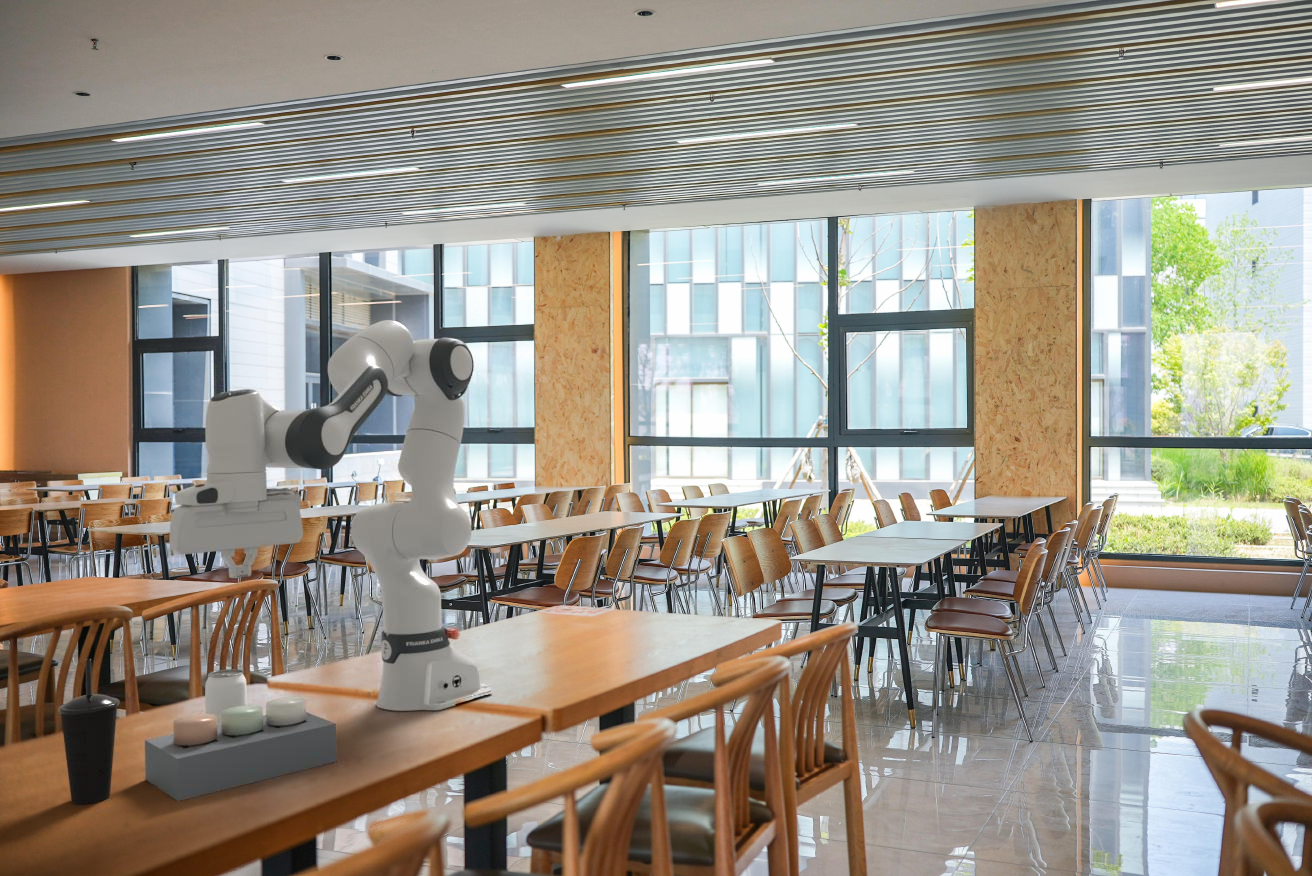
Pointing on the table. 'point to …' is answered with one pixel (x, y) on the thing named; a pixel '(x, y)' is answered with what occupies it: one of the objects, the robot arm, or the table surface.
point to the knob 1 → (195, 729)
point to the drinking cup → (89, 743)
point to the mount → (238, 757)
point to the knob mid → (241, 720)
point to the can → (224, 691)
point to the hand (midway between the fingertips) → (240, 576)
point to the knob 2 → (285, 711)
